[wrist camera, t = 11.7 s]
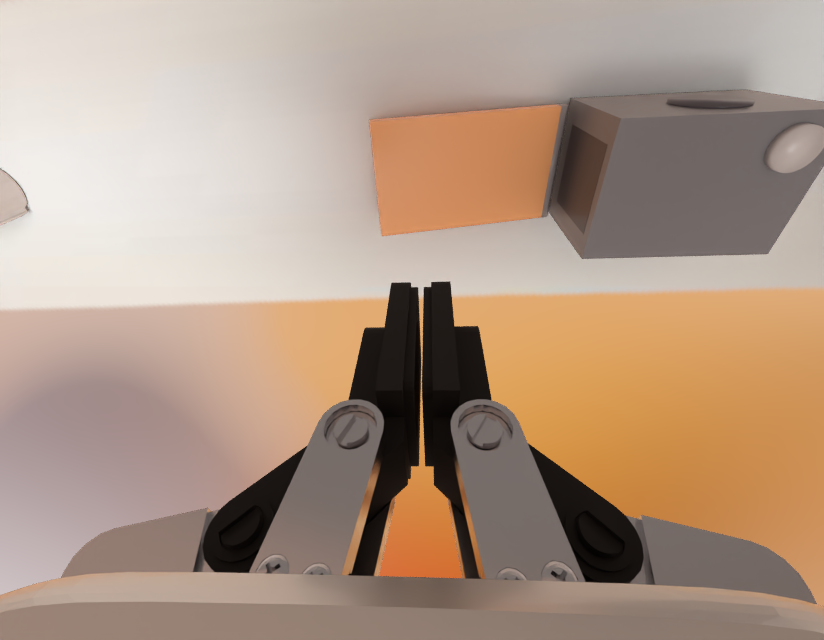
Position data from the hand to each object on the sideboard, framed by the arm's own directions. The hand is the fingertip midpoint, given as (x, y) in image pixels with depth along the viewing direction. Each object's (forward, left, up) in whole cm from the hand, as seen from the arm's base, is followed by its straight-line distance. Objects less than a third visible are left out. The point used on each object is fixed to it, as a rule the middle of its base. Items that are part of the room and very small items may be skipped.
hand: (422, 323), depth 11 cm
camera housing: (-14, 0, -17) cm, 22 cm away
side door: (-8, 0, -16) cm, 18 cm away
